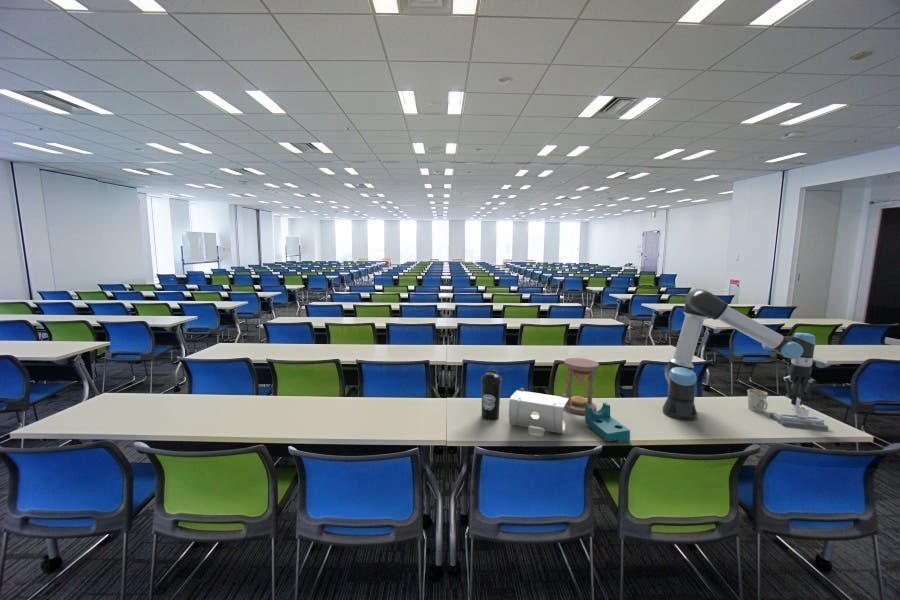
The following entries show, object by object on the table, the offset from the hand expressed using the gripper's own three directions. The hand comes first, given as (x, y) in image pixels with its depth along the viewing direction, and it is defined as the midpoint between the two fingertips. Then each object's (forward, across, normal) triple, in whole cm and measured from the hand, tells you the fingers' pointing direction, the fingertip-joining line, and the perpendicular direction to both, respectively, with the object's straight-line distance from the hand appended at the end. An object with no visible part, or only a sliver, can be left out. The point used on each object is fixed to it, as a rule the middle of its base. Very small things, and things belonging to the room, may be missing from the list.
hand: (795, 411), depth 184 cm
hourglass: (+6, -102, -11) cm, 103 cm away
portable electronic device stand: (+6, -123, -40) cm, 130 cm away
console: (+6, +1, 0) cm, 6 cm away
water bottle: (+6, -146, -36) cm, 151 cm away
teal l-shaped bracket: (+6, -92, -38) cm, 100 cm away
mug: (+6, -10, +12) cm, 17 cm away
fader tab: (+4, +2, 0) cm, 4 cm away
